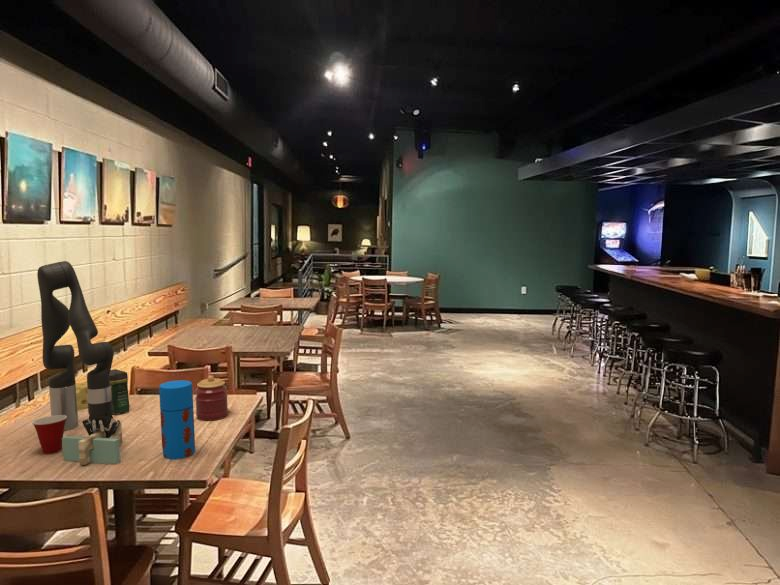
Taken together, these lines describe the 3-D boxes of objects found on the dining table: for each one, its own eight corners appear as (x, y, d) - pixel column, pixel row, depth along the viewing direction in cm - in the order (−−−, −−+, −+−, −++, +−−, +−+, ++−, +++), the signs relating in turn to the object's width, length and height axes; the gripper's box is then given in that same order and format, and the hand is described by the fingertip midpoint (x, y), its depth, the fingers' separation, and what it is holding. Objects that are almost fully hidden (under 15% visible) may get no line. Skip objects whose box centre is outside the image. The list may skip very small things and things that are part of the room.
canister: (222, 421, 234) (221, 379, 232) (191, 421, 234) (189, 379, 232) (232, 411, 247) (230, 371, 245) (202, 411, 247) (200, 371, 245)
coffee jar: (132, 411, 247) (130, 370, 245) (114, 416, 241) (111, 373, 238) (121, 407, 253) (119, 366, 251) (103, 412, 247) (101, 370, 244)
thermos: (157, 453, 200) (153, 384, 198) (185, 445, 208) (182, 378, 205) (171, 462, 193) (168, 390, 190) (200, 453, 201) (197, 384, 198)
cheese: (76, 410, 249) (74, 388, 248) (69, 405, 257) (68, 383, 255) (101, 405, 256) (100, 384, 254) (94, 400, 264) (93, 379, 262)
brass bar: (85, 464, 190) (83, 441, 189) (79, 464, 190) (78, 441, 189) (122, 443, 209) (121, 422, 209) (117, 442, 210) (116, 421, 209)
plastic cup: (65, 442, 211) (63, 411, 210) (72, 450, 203) (70, 418, 202) (31, 450, 204) (28, 417, 203) (37, 459, 196) (35, 425, 195)
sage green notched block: (63, 460, 195) (61, 437, 194) (67, 458, 197) (66, 435, 196) (116, 463, 192) (115, 441, 191) (120, 461, 194) (118, 438, 193)
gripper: (74, 401, 195) (77, 450, 197) (110, 403, 193) (113, 452, 195) (89, 395, 203) (92, 442, 205) (124, 397, 201) (127, 444, 202)
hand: (102, 447), depth 200 cm, fingers closed
